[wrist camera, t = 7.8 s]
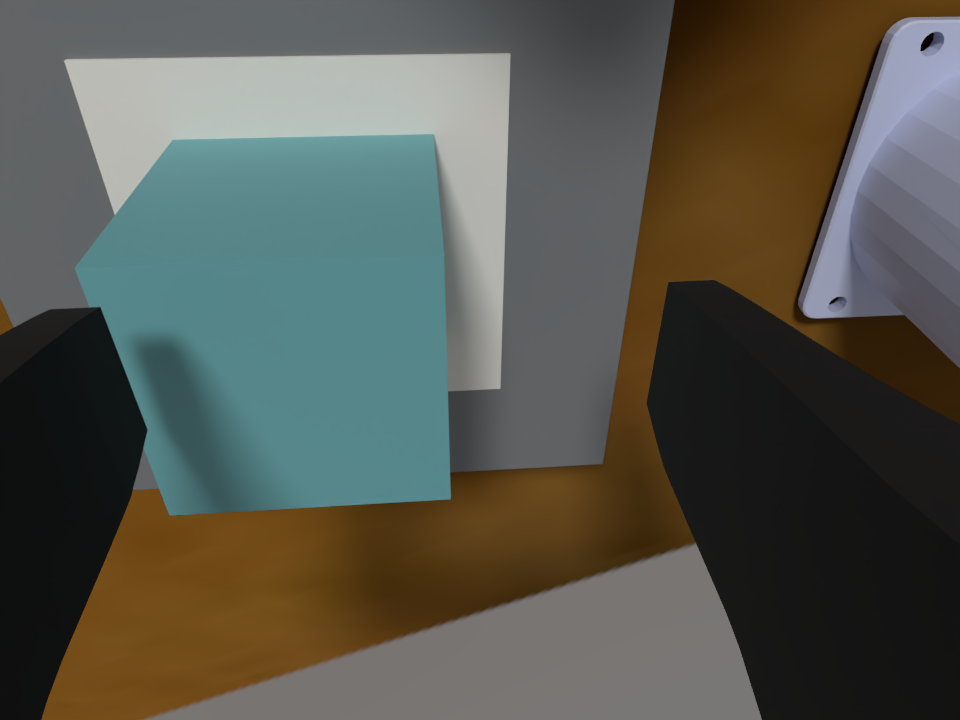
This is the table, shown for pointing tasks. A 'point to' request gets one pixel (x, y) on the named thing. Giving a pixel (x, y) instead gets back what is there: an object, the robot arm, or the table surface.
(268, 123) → the white-inset grey tile
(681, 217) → the table surface
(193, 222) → the teal cube
